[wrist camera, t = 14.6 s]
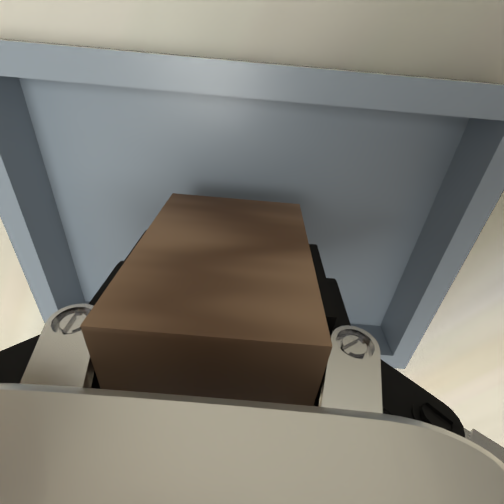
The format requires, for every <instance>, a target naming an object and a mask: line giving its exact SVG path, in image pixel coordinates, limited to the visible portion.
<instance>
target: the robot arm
mask: <svg viewBox="0 0 504 504" xmlns="http://www.w3.org/2000/svg"><path fill="white" fill-rule="evenodd" d="M146 231H147V230H146ZM146 231H145V232H146ZM145 232H144V233H143V235H144V234H145ZM143 235H142V236H143ZM142 236H141V237H140V239H141V238H142ZM140 239H139V240H138V242H139V241H140ZM138 242H137V243H136V245H137V244H138ZM136 245H135V246H136ZM135 246H134V247H133V249H134V248H135ZM309 247H310V251H311V256H312V260H313V264H314V268H315V273H316V277H317V281H318V286H319V290H320V294H321V299H322V303H323V307H324V312H325V316H326V320H327V325H328V329H329V333H330V338H331V342H332V346H333V347H332V350H331V353H330V356H329V359H328V362H327V365H326V368H325V372H324V375H323V378H322V381H321V384H320V387H319V390H318V393H317V396H316V399H315V402H314V405H313V406H306V405H294V404H282V403H271V402H259V401H247V400H235V399H223V398H211V397H199V396H186V395H174V394H161V393H148V392H135V391H122V390H109V389H101V388H100V385H99V382H98V379H97V376H96V373H95V370H94V367H93V364H92V361H91V358H90V355H89V352H88V349H87V346H86V342H85V339H84V336H83V333H82V330H81V327H80V325H81V324H82V322H83V321H84V320H85V318H86V317H87V315H88V314H89V312H90V311H91V309H92V308H93V307H94V305H95V304H96V302H97V301H98V299H99V298H100V297H101V295H102V294H103V292H104V291H105V289H106V288H107V287H108V285H109V284H110V282H111V281H112V279H113V278H114V277H115V275H116V274H117V272H118V271H119V269H120V268H121V266H122V265H123V264H124V262H125V261H126V259H127V258H128V256H129V255H130V254H131V252H132V251H133V249H132V250H131V252H130V253H129V254H128V256H127V257H126V259H125V260H124V261H120V262H119V263H118V264H117V265H116V266H115V268H114V269H113V271H112V272H111V273H110V275H109V276H108V278H107V279H106V280H105V282H104V283H103V284H102V286H101V287H100V289H99V290H98V291H97V293H96V294H95V295H94V297H93V298H92V300H91V301H90V302H89V304H73V305H69V306H66V307H64V308H61V309H60V310H58V311H56V312H55V313H53V314H52V315H51V316H50V317H49V318H48V320H47V321H46V323H45V325H44V328H43V330H42V332H41V334H40V335H38V336H36V337H33V338H31V339H28V340H26V341H24V342H21V343H19V344H17V345H14V346H12V347H9V348H7V349H5V350H2V351H0V504H504V448H503V447H502V446H500V445H499V444H497V443H495V442H494V441H492V440H491V439H489V438H487V437H486V436H484V435H483V434H481V433H479V432H478V431H476V430H474V429H472V430H471V431H468V430H466V429H465V428H463V425H462V423H461V422H460V420H459V418H458V417H457V415H456V414H455V413H454V412H453V411H452V410H451V409H450V408H449V407H448V406H447V405H445V404H444V403H443V402H441V401H440V400H439V399H437V398H436V397H434V396H433V395H431V394H430V393H429V392H427V391H426V390H424V389H423V388H421V387H420V386H419V385H417V384H416V383H414V382H413V381H411V380H410V379H409V378H407V377H406V376H404V375H403V374H401V373H400V372H399V371H397V370H396V369H394V368H393V367H391V366H390V365H389V364H387V363H386V362H384V361H383V360H381V358H380V348H379V344H378V342H377V341H376V339H375V338H374V337H373V336H372V335H371V334H370V333H368V332H367V331H365V330H364V329H361V328H359V327H356V326H351V324H350V321H349V318H348V315H347V312H346V309H345V305H344V302H343V299H342V296H341V293H340V290H339V287H338V283H337V281H336V279H334V278H326V275H325V272H324V268H323V264H322V261H321V257H320V253H319V250H318V246H317V245H316V244H309Z"/></svg>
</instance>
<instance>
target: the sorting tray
mask: <svg viewBox="0 0 504 504" xmlns="http://www.w3.org/2000/svg"><path fill="white" fill-rule="evenodd" d="M503 191H504V84H496V83H485V82H474V81H463V80H452V79H441V78H430V77H418V76H407V75H396V74H385V73H374V72H363V71H352V70H341V69H329V68H318V67H307V66H296V65H285V64H274V63H263V62H252V61H240V60H229V59H218V58H207V57H196V56H185V55H174V54H163V53H151V52H140V51H129V50H118V49H107V48H96V47H85V46H73V45H62V44H51V43H40V42H29V41H18V40H7V39H0V217H1V219H2V222H3V224H4V226H5V229H6V231H7V234H8V236H9V238H10V241H11V243H12V246H13V248H14V251H15V253H16V255H17V258H18V260H19V263H20V265H21V267H22V270H23V272H24V275H25V277H26V279H27V282H28V284H29V287H30V289H31V291H32V294H33V296H34V299H35V301H36V304H37V306H38V308H39V311H40V313H41V316H42V318H43V320H44V323H46V321H47V320H48V318H49V317H50V316H51V315H52V314H53V313H55V312H56V311H58V310H60V309H61V308H64V307H66V306H69V305H73V304H89V302H90V301H91V300H92V298H93V297H94V295H95V294H96V293H97V291H98V290H99V289H100V287H101V286H102V284H103V283H104V282H105V280H106V279H107V278H108V276H109V275H110V273H111V272H112V271H113V269H114V268H115V266H116V265H117V264H118V263H119V262H120V261H124V260H125V259H126V257H127V256H128V254H129V253H130V252H131V250H132V249H133V247H134V246H135V245H136V243H137V242H138V240H139V239H140V237H141V236H142V235H143V233H144V232H145V231H146V230H147V229H148V228H149V226H150V225H151V224H152V222H153V221H154V219H155V218H156V216H157V215H158V213H159V212H160V211H161V209H162V208H163V206H164V205H165V203H166V202H167V201H168V199H169V198H170V196H171V195H172V193H176V194H187V195H199V196H211V197H223V198H234V199H246V200H258V201H269V202H281V203H293V204H300V208H301V212H302V217H303V221H304V225H305V230H306V234H307V238H308V243H309V244H316V245H317V246H318V250H319V253H320V257H321V261H322V264H323V268H324V272H325V275H326V278H334V279H336V281H337V283H338V287H339V290H340V293H341V296H342V299H343V302H344V305H345V309H346V312H347V315H348V318H349V321H350V324H351V326H356V327H359V328H361V329H364V330H365V331H367V332H368V333H370V334H371V335H372V336H373V337H374V338H375V339H376V341H377V342H378V344H379V348H380V358H381V360H383V361H384V362H386V363H387V364H389V365H390V366H391V367H393V368H400V369H405V368H406V366H407V364H408V362H409V361H410V359H411V357H412V355H413V353H414V351H415V350H416V348H417V346H418V344H419V342H420V341H421V339H422V337H423V335H424V333H425V332H426V330H427V328H428V326H429V324H430V323H431V321H432V319H433V317H434V315H435V314H436V312H437V310H438V308H439V306H440V305H441V303H442V301H443V299H444V297H445V295H446V294H447V292H448V290H449V288H450V286H451V285H452V283H453V281H454V279H455V277H456V276H457V274H458V272H459V270H460V268H461V267H462V265H463V263H464V261H465V259H466V258H467V256H468V254H469V252H470V250H471V249H472V247H473V245H474V243H475V241H476V240H477V238H478V236H479V234H480V232H481V230H482V229H483V227H484V225H485V223H486V221H487V220H488V218H489V216H490V214H491V212H492V211H493V209H494V207H495V205H496V203H497V202H498V200H499V198H500V196H501V194H502V193H503Z"/></svg>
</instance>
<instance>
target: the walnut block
mask: <svg viewBox="0 0 504 504" xmlns="http://www.w3.org/2000/svg"><path fill="white" fill-rule="evenodd" d="M80 327H81V330H82V333H83V336H84V339H85V342H86V346H87V349H88V352H89V355H90V358H91V361H92V364H93V367H94V370H95V373H96V376H97V379H98V382H99V385H100V388H101V389H109V390H122V391H135V392H148V393H161V394H174V395H186V396H199V397H211V398H223V399H235V400H247V401H259V402H271V403H282V404H294V405H306V406H313V405H314V402H315V399H316V396H317V393H318V390H319V387H320V384H321V381H322V378H323V375H324V372H325V368H326V365H327V362H328V359H329V356H330V353H331V350H332V347H333V346H332V342H331V338H330V333H329V329H328V325H327V320H326V316H325V312H324V307H323V303H322V299H321V294H320V290H319V286H318V281H317V277H316V273H315V268H314V264H313V260H312V256H311V251H310V247H309V243H308V238H307V234H306V230H305V225H304V221H303V217H302V212H301V208H300V204H293V203H281V202H269V201H258V200H246V199H234V198H223V197H211V196H199V195H187V194H176V193H172V195H171V196H170V198H169V199H168V201H167V202H166V203H165V205H164V206H163V208H162V209H161V211H160V212H159V213H158V215H157V216H156V218H155V219H154V221H153V222H152V224H151V225H150V226H149V228H148V229H147V231H146V232H145V234H144V235H143V236H142V238H141V239H140V241H139V242H138V244H137V245H136V246H135V248H134V249H133V251H132V252H131V254H130V255H129V256H128V258H127V259H126V261H125V262H124V264H123V265H122V266H121V268H120V269H119V271H118V272H117V274H116V275H115V277H114V278H113V279H112V281H111V282H110V284H109V285H108V287H107V288H106V289H105V291H104V292H103V294H102V295H101V297H100V298H99V299H98V301H97V302H96V304H95V305H94V307H93V308H92V309H91V311H90V312H89V314H88V315H87V317H86V318H85V320H84V321H83V322H82V324H81V325H80Z"/></svg>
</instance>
